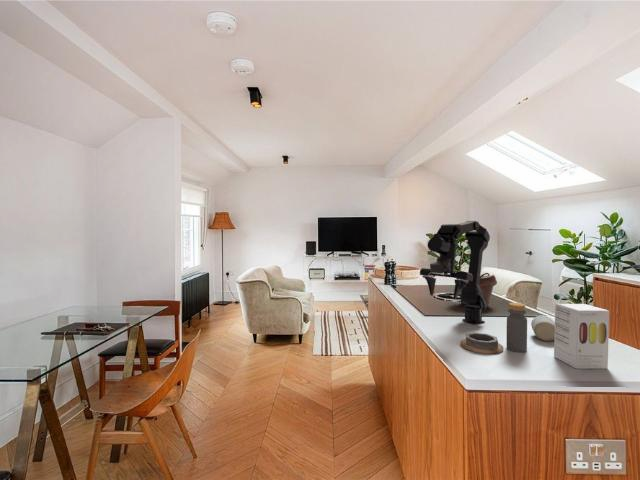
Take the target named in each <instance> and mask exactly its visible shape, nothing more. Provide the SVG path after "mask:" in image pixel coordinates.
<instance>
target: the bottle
mask: <svg viewBox="0 0 640 480" xmlns="http://www.w3.org/2000/svg"><path fill="white" fill-rule="evenodd" d="M508 306H509V308H507V312H508V313H509V315H507V316H506V349H507V350H509V351H512V352H516V353H526V352H527V351H528V318H527V317H526V316H525V315H526V314H527V310H526V304H525V303H519V302H509V303H508Z"/></svg>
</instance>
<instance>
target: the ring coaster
mask: <svg viewBox="0 0 640 480" xmlns="http://www.w3.org/2000/svg"><path fill="white" fill-rule="evenodd" d="M460 346H461V347H462V348H463V349H465V350H466V351H469V352H472V353H473V352H474V353H476V354H484V355H497V354H498V355H499V354H501V353H502V352H504V346H503V345H502V344H500V343H499V341H498V337H497V336H494V335H491V334H488V333H481V332H469V333H466V334H465V338H464V339H461V340H460Z"/></svg>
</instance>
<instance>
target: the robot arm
mask: <svg viewBox="0 0 640 480" xmlns="http://www.w3.org/2000/svg"><path fill="white" fill-rule="evenodd" d="M463 234H464V238H465V239H466V240H467V246H468V248H469V250H470V251H469V252H470V253H469V263H468V264H469V265H468V271H464V272H460V271H461V270H460V271H459V270H457V271H456V270H455V265H456V264H457V262H458V261H457V260H456V255H457V248H458V247H459V243H458V242H457V241H456V240H459V239H460V238H462V237H463ZM490 238H491V236H490V234H489V231H488V229H487V228H485V227H484V226H482V225H481V224H480V223H479V221H478V220H466V221H464V222H460V223H456V224H455V223H449V224H442V225H440V227H439V228H438V231H437V232H436V233H433V236H432V237H430V239H429V240H428V242H427V248H428V250H429V251H431V252H433V253H436V254H438V255H439V256H438V257H437V258H436V261H434V262H431V263H429V268H424V267H422V268H420V270H419V276H422V278H424V279H425V280H426V283H427V285H428V286H427V287H428V291H429V295H430V296H434V293H435V289H436V281H437V278H435V277H443V278H444V277H445V278H454V284H455V285H454V289H453V300H456V299H457V298H458V296H459V298H460V304H461V305H460V306H461V307H463V308H465V310H464V318H462V321H463V322H466V323H470V324H473V325H476V324H477V325H478V324H483V323H485V322H486V321H485V320H483V310H486V309H487V307H486V302H485V300H484V297H483V291H482V289H481V288H480V286H479V283H480V276H481V272H482V262H483V254H484V251H485V250H486V249H487V248H488V246H489V242H490ZM456 278H457V280H456ZM466 283H467V284H466ZM460 291H461V295H460Z"/></svg>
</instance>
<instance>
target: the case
mask: <svg viewBox="0 0 640 480" xmlns="http://www.w3.org/2000/svg"><path fill="white" fill-rule="evenodd" d="M458 271H460V272H465V271H463V270H461V269H460V270H458ZM455 280H457V278H455ZM466 284H467V283H466ZM497 284H498V281H497V279H496V275H494V274H491V275H490V273H488V272H484V273H483V274H480V283H479V286H480V288H481V289H482V291H483V297H484V300H485V302H486V308H489V307H490V302H491V299H492V298H491V297H492V295H493V294H492V293H493V289H494V287H495V286H496V285H497ZM460 295H461V291H460V293H459V296H460Z"/></svg>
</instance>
